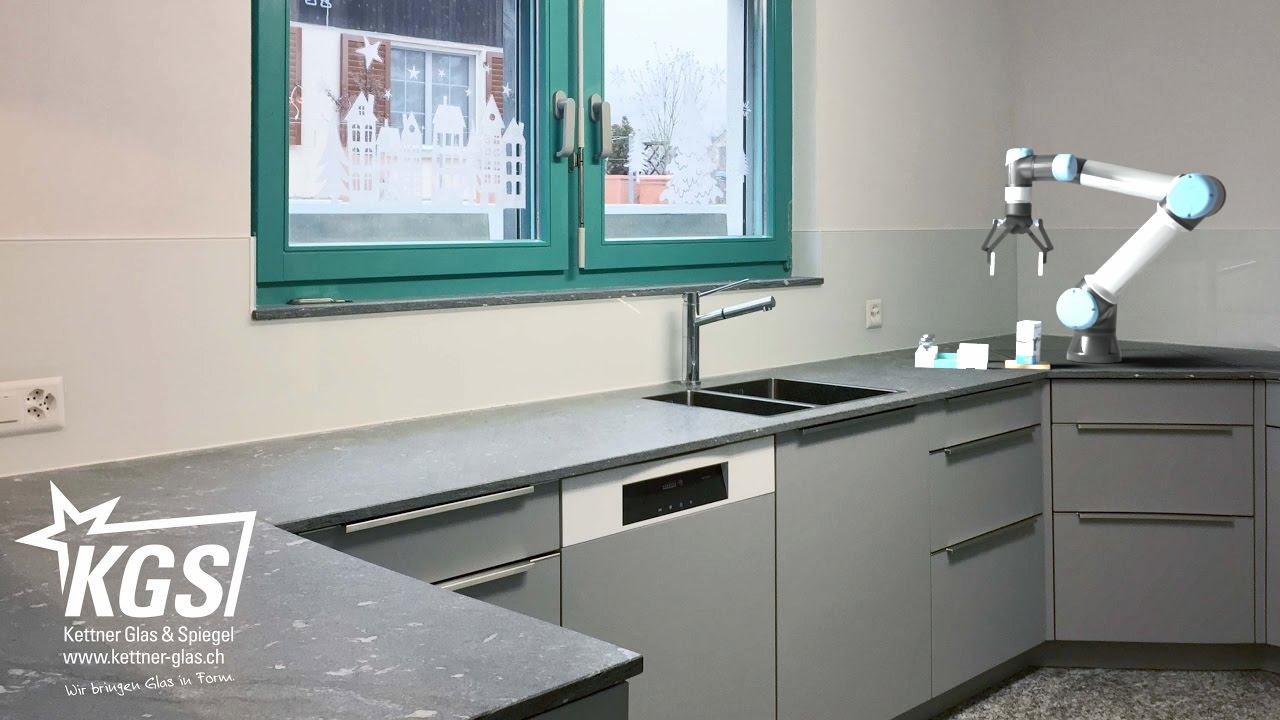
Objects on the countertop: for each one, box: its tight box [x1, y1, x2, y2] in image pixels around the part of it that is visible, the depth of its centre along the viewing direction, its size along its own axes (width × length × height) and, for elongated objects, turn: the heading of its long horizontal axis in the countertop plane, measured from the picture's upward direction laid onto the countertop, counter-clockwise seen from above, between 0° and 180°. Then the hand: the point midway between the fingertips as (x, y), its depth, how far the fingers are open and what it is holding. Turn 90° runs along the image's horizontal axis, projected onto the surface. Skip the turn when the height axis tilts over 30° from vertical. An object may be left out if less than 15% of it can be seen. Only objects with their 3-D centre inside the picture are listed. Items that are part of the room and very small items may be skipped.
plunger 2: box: [918, 336, 933, 352], centre depth 347 cm, size 4×4×7 cm
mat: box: [1004, 359, 1051, 370], centre depth 344 cm, size 12×10×1 cm
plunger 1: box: [921, 333, 935, 348], centre depth 357 cm, size 4×4×7 cm
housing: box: [914, 343, 989, 370], centre depth 350 cm, size 20×19×5 cm
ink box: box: [1015, 320, 1042, 365], centre depth 344 cm, size 8×5×12 cm, turn 147°
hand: (1016, 275), depth 356 cm, fingers open, 13 cm apart
